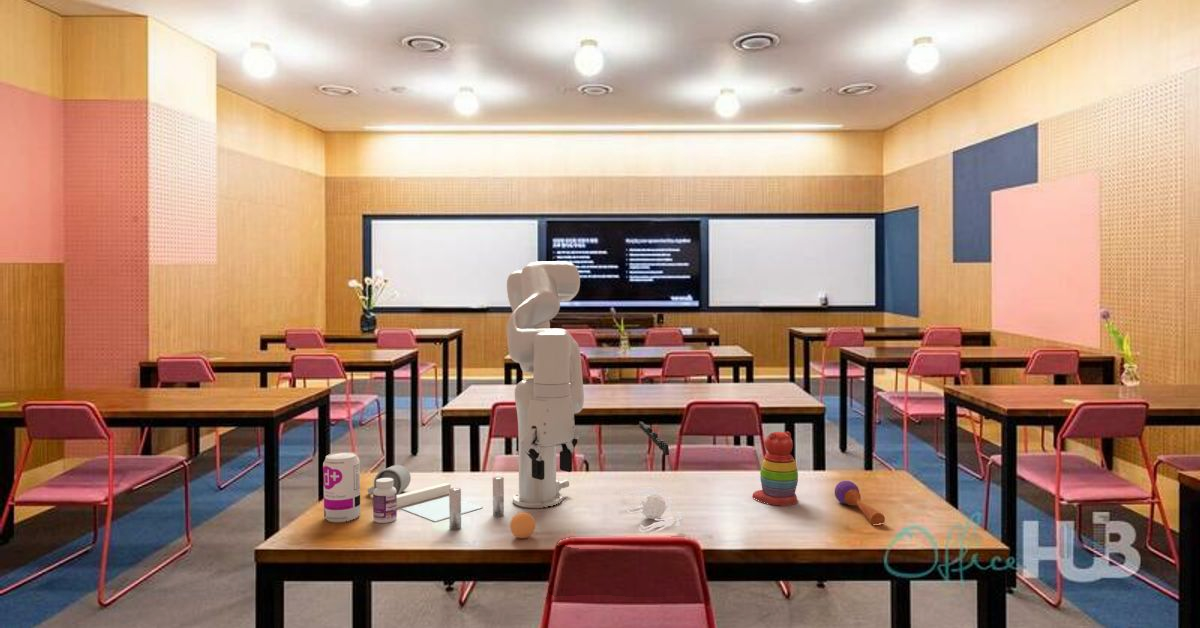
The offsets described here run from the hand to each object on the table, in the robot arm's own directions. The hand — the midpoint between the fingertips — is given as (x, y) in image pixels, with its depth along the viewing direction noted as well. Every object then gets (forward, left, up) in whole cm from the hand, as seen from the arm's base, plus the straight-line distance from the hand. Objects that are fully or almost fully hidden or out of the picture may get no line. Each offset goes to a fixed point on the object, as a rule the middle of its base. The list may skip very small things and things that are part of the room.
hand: (552, 474), depth 154 cm
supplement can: (+20, -52, -16) cm, 58 cm away
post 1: (+6, -26, -16) cm, 31 cm away
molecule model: (-29, +3, -16) cm, 33 cm away
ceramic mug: (+2, -60, -16) cm, 62 cm away
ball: (0, -10, -13) cm, 16 cm away
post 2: (-6, -26, -16) cm, 31 cm away
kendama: (-67, +38, -16) cm, 79 cm away
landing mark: (0, -40, -16) cm, 43 cm away
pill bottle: (+14, -43, -16) cm, 48 cm away
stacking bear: (-62, +18, -16) cm, 67 cm away
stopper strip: (0, -50, -16) cm, 52 cm away
